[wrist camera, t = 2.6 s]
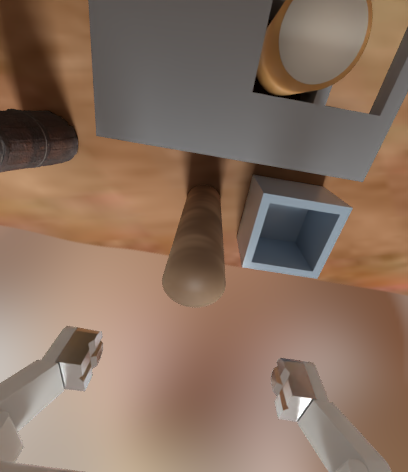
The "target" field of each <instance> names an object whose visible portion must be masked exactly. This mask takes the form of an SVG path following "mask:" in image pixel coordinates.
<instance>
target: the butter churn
mask: <svg viewBox="0 0 408 472" xmlns="http://www.w3.org/2000/svg"><path fill="white" fill-rule="evenodd" d="M77 149H78V140H77V136H76V133H75V131H74V128H73V127H72V126H68V123H67V121H65V120H64V119H63V118H62V117H60V116H57V115H55V114H53V113H52V112H50V111H25V110H24V111H22V110H16V109H7V110H6V111H0V172H5V171H11V170H18V169H24V168H35V167H40V166H47V165H54V164H58V163H63V162H66V161H69V160H71V159H72V158H73V157H74V155H75V154H77Z"/></svg>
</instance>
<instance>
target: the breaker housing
mask: <svg viewBox="0 0 408 472" xmlns="http://www.w3.org/2000/svg"><path fill="white" fill-rule="evenodd" d="M88 1H89V18H90V35H91V52H92V69H93V86H94V103H95V119H96V136H100V137H106V138H112V139H118V140H123V141H129V142H135V143H141V144H146V145H152V146H158V147H164V148H170V149H175V150H181V151H187V152H193V153H198V154H204V155H210V156H216V157H222V158H227V159H233V160H239V161H245V162H250V163H256V164H262V165H268V166H274V167H279V168H285V169H291V170H297V171H302V172H308V173H314V174H320V175H326V176H331V177H337V178H343V179H349V180H354V181H360V182H363V181H364V179H365V177H366V175H367V173H368V171H369V169H370V167H371V165H372V163H373V161H374V159H375V157H376V155H377V153H378V151H379V149H380V147H381V145H382V143H383V141H384V139H385V136H386V134H387V132H388V130H389V128H390V126H391V124H392V122H393V120H394V118H395V116H396V114H397V112H398V110H399V108H400V106H401V104H402V102H403V100H404V98H405V96H406V94H407V92H408V28H407V30H406V32H405V34H404V37H403V39H402V41H401V43H400V46H399V48H398V50H397V52H396V55H395V57H394V59H393V61H392V64H391V66H390V68H389V70H388V73H387V75H386V77H385V79H384V82H383V84H382V86H381V88H380V91H379V93H378V95H377V97H376V100H375V102H374V104H373V106H372V109H371V111H370V113H369V114H367V113H361V112H356V111H351V110H345V109H340V108H334V107H329V106H325V104H326V102H327V99H328V96H329V93H330V90H331V88H332V85H331V86H329V87H327V88H324V89H321V90H315V91H309V92H304V93H301V96H300V100H299V101H297V100H291V99H286V98H281V97H275V96H270V95H265V94H259V93H254V92H253V87H254V83H255V78H256V74H257V69H258V65H259V60H260V55H261V51H262V46H263V42H264V37H265V33H266V28H267V24H268V19H269V20H273V18H274V17H275V15H276V14H277V12H278V11H279V9H280V8H281V6H282V5H283V3H284V2H285V0H88Z"/></svg>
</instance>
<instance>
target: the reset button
mask: <svg viewBox="0 0 408 472" xmlns="http://www.w3.org/2000/svg"><path fill="white" fill-rule="evenodd" d="M371 26H372V3H371V0H285V2H284V3H283V5H282V6H281V8H280V9H279V11H278V12H277V14H276V15H275V17H274V18H273V20H272V21H271V23H270V24H269V26H268V27H267V29H266V33H265V37H264V42H263V46H262V51H261V55H260V60H259V65H258V69H257V74H256V77H257V79H258V81H259V83H260V85H261V86H262V87H263V88H264V89H265V90H266V91H267V92H269V93H271V94H273V95H277V96H286V95H292V94H298V93H304V92H309V91H315V90H321V89H324V88H327V87H329V86H331V85H333V84H335V83H336V82H338V81H339V80H341V79H342V78H343V77H344V76H345V75H346V74H348V73H349V72H350V70H351V69H352V68H353V67H354V66H355V64H356V63H357V61H358V60H359V58H360V57H361V55H362V53H363V51H364V49H365V47H366V45H367V42H368V39H369V36H370V31H371Z"/></svg>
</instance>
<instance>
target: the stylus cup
mask: <svg viewBox="0 0 408 472" xmlns="http://www.w3.org/2000/svg"><path fill="white" fill-rule="evenodd" d="M351 210H352V207H351V206H349V205H348V204H347V203H345V202H344V201H342V200H341V199H340V198H338V197H337V196H336V195H334V194H333V193H331V192H330V191H329V190H327V189H326V188H324V187H323V186H318V185H312V184H306V183H300V182H294V181H288V180H282V179H277V178H271V177H265V176H259V175H253V176H252V180H251V184H250V188H249V192H248V195H247V199H246V203H245V207H244V211H243V215H242V219H241V222H240V226H239V230H238V234H237V242H238V247H239V253H240V259H241V265H242V267H244V268H251V269H257V270H264V271H270V272H276V273H283V274H289V275H296V276H302V277H309V278H315V279H317V278H318V276H319V274H320V272H321V270H322V268H323V266H324V264H325V262H326V260H327V258H328V256H329V254H330V252H331V250H332V248H333V246H334V244H335V242H336V240H337V238H338V236H339V234H340V232H341V230H342V228H343V226H344V224H345V222H346V220H347V218H348V216H349V214H350V212H351Z"/></svg>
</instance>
